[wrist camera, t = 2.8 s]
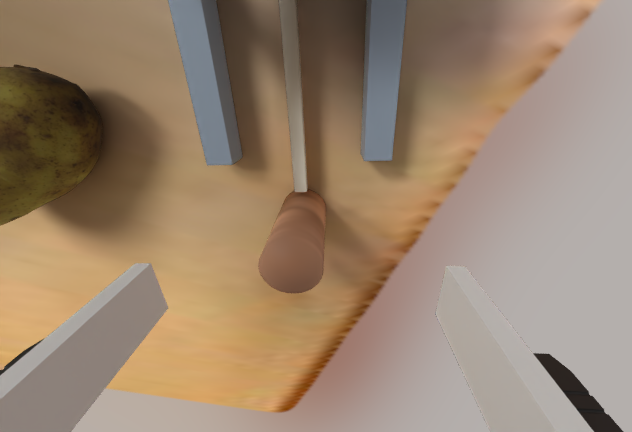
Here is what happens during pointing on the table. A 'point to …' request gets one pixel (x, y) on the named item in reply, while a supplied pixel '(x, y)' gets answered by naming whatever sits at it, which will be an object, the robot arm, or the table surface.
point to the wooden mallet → (295, 188)
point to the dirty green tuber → (43, 139)
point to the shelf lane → (215, 90)
